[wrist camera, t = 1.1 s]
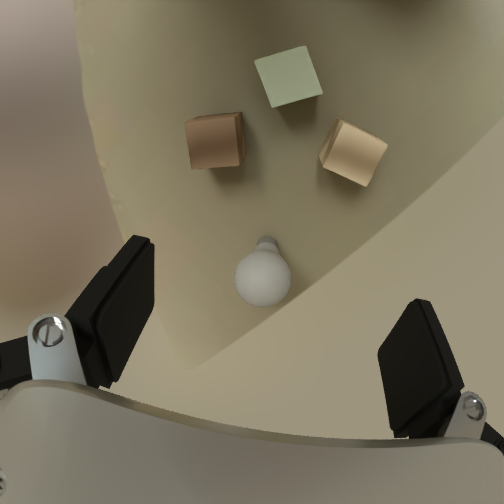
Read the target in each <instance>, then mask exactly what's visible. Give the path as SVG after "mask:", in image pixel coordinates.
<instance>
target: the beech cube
mask: <svg viewBox="0 0 504 504" xmlns="http://www.w3.org/2000/svg"><path fill="white" fill-rule="evenodd" d="M387 146H388V145H387V144H386V143H384V142H383V141H382V140H380V139H379V138H377V137H376V136H374V135H372V134H371V133H369V132H367V131H365V130H363V129H361V128H359V127H357V126H355V125H353V124H351V123H349V122H347V121H345V120H343V119H340V118H338V117H336V118H335V120H334V123H333V125H332V127H331V129H330V131H329V134H328V136H327V138H326V140H325V142H324V144H323V147H322V149H321V151H320V153H319V158H320V161H321V163H322V166H323V167H324V168H326V169H328V170H331V171H333V172H335V173H337V174H339V175H342V176H344V177H346V178H348V179H350V180H352V181H354V182H356V183H359V184H361V185H363V186H365V187H367V185H368V183H369V181H370V179H371V177H372V176H373V174H374V172H375V170H376V168H377V166H378V164H379V162H380V160H381V158H382V156H383V154H384V152H385V150H386V148H387Z"/></svg>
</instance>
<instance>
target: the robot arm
mask: <svg viewBox="0 0 504 504" xmlns="http://www.w3.org/2000/svg"><path fill="white" fill-rule="evenodd" d="M153 307H154V244H153V243H150V239H149V238H146V237H142V236H138V235H133V236H132V237H131V238H130V239H129V240H128V241H127V242H126V244H125V245H124V246H123V247H122V248H121V250H120V251H119V252H118V253H117V255H116V256H115V257H114V258H113V260H112V261H111V262H110V263H109V264H108V266H104V267H102V268H101V269H100V270H99V271H98V273H97V274H96V275H95V276H94V278H93V279H92V280H91V281H90V283H89V284H88V285H87V287H86V288H85V289H84V290H83V292H82V293H81V294H80V296H79V297H78V298H77V300H76V301H75V302H74V304H73V305H72V306H71V308H70V309H69V310H68V312H67V313H66V314H65V316H62V315H60V314H55V313H50V314H45V315H42V316H40V317H38V318H37V319H35V320H34V321H33V322H32V324H31V325H30V327H29V329H28V336H24V337H21V338H17V339H14V340H10V341H7V342H3V343H0V504H504V438H503V437H502V436H501V435H500V434H499V433H498V432H496V430H494V429H493V428H492V427H491V426H490V425H489V424H487V422H485V420H486V415H487V411H486V406H485V404H484V402H483V400H482V399H481V398H480V397H479V396H478V395H477V394H475V393H474V392H470V391H467V392H464V393H463V394H461V392H460V390H461V389H462V388H463V387H464V383H463V380H462V377H461V374H460V372H459V369H458V366H457V364H456V361H455V358H454V356H453V354H452V351H451V348H450V346H449V343H448V341H447V338H446V336H445V334H444V331H443V329H442V327H441V324H440V322H439V320H438V318H437V315H436V313H435V311H434V309H433V307H432V304H431V303H430V302H429V301H427V300H422V299H415V300H413V301H412V302H410V303H409V304H408V305H407V307H406V309H405V310H404V312H403V313H402V315H401V317H400V318H399V320H398V321H397V323H396V324H395V326H394V328H393V329H392V330H391V332H390V334H389V335H388V336H387V338H386V339H385V341H384V342H383V344H382V345H381V346H380V348H379V350H378V361H379V366H380V371H381V376H382V381H383V387H384V393H385V398H386V404H387V410H388V416H389V423H390V428H391V430H393V433H394V438H406V437H407V436H409V439H392V440H364V439H363V440H362V439H361V440H360V439H338V438H322V437H309V436H300V435H290V434H283V433H275V432H268V431H261V430H255V429H249V428H243V427H237V426H232V425H227V424H222V423H218V422H213V421H208V420H204V419H200V418H195V417H191V416H188V415H184V414H180V413H176V412H173V411H169V410H165V409H162V408H158V407H154V406H151V405H148V404H144V403H141V402H138V401H135V400H132V399H129V398H125V397H122V396H120V395H116V394H113V393H110V392H107V391H103V390H100V389H98V388H99V386H100V385H101V386H103V387H106V388H108V389H109V388H110V386H111V384H112V382H117V381H118V380H119V378H120V376H121V374H122V372H123V369H124V367H125V365H126V363H127V361H128V359H129V357H130V355H131V353H132V351H133V349H134V346H135V344H136V342H137V340H138V338H139V336H140V334H141V332H142V330H143V328H144V326H145V324H146V322H147V320H148V318H149V316H150V314H151V312H152V310H153Z"/></svg>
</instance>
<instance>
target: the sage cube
mask: <svg viewBox="0 0 504 504" xmlns="http://www.w3.org/2000/svg"><path fill="white" fill-rule="evenodd" d="M254 63H255V65H256V68H257V70H258V73H259V75H260V78H261V80H262V83H263V86H264V88H265V91H266V93H267V96H268V99H269V101H270V104H271V107H272V108H274V107H277V106H281V105H284V104H287V103H291V102H294V101H298V100H301V99H305V98H309V97H312V96H316V95H320V94H323V92H322V89H321V86H320V83H319V80H318V78H317V75H316V72H315V69H314V66H313V64H312V61H311V58H310V56H309V53H308V50H307V48H306V45H305V46H301V47H297V48H294V49H290V50H286V51H283V52H279V53H276V54H273V55H269V56H266V57H263V58H260V59H257V60H254Z"/></svg>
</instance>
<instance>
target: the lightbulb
mask: <svg viewBox="0 0 504 504" xmlns="http://www.w3.org/2000/svg"><path fill="white" fill-rule="evenodd" d="M234 284H235V288H236V291H237V293H238V294H239V296H240V297H241V298H242V299H243V300H244V301H245V302H247V303H248V304H250V305H252V306H255V307H270V306H273V305H275V304H277V303H279V302H280V301H281V300H283V298H284V297H285V296H286V295H287V293H288V291H289V289H290V286H291V272H290V269H289V267H288V265H287V263H286V262H285V260H284V259H283V258H282V257H280V256H279V251H278V247H277V242H276V240H275V239H274V238H272V237H269V236H265V237H262V238H261V239H260V240H259V241H258V243H257V246H256V247H255V248H254V251H253V252H252V253H250V254H248V255H246V256H245V257H244V258H243V259H242V260H241V261H240V262H239V264H238V265H237V267H236V270H235V273H234Z"/></svg>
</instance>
